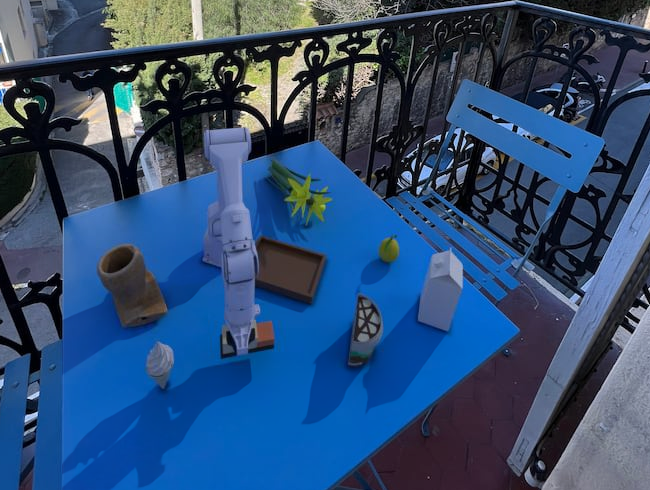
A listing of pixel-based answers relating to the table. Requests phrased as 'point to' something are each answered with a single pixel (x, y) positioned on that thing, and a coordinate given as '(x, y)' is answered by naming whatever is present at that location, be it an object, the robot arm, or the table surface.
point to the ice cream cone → (160, 363)
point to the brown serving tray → (288, 269)
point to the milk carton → (441, 290)
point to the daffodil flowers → (299, 190)
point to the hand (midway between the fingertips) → (239, 340)
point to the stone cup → (131, 286)
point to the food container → (364, 331)
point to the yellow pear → (389, 249)
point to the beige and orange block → (261, 342)
